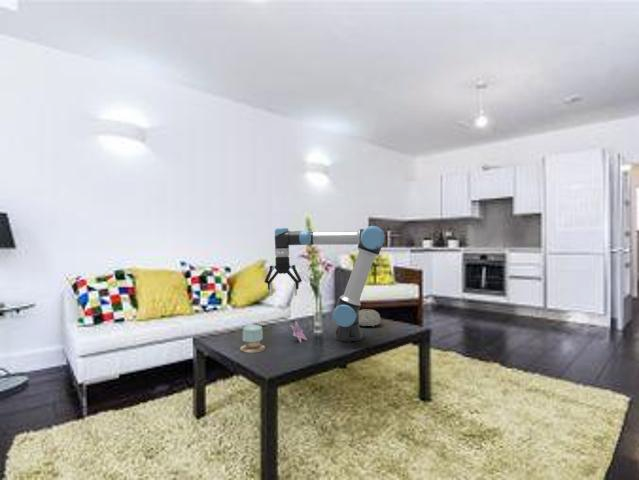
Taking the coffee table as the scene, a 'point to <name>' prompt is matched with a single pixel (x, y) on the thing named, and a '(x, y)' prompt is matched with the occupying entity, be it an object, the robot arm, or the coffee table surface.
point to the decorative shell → (369, 317)
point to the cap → (252, 333)
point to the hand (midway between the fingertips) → (283, 295)
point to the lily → (298, 332)
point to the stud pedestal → (252, 347)
